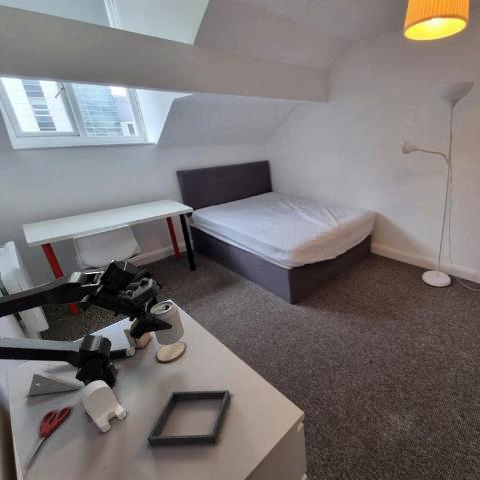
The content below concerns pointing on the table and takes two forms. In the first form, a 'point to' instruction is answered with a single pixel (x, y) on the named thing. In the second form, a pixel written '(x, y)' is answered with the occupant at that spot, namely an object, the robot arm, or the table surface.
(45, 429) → the scissors
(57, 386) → the grey triangular spike
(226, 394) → the dark grey rectangular frame
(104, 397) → the white phone stand
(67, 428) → the table surface
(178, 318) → the can
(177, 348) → the cork coaster
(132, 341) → the small box
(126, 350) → the knife
